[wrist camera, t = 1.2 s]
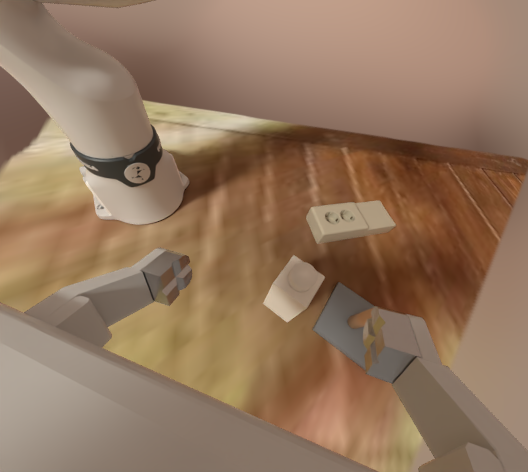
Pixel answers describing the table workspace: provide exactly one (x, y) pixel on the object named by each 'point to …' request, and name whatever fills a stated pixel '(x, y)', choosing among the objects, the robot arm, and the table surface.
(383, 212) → the electrical outlet
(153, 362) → the table surface
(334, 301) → the peg stand
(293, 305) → the tapered lotion bottle
